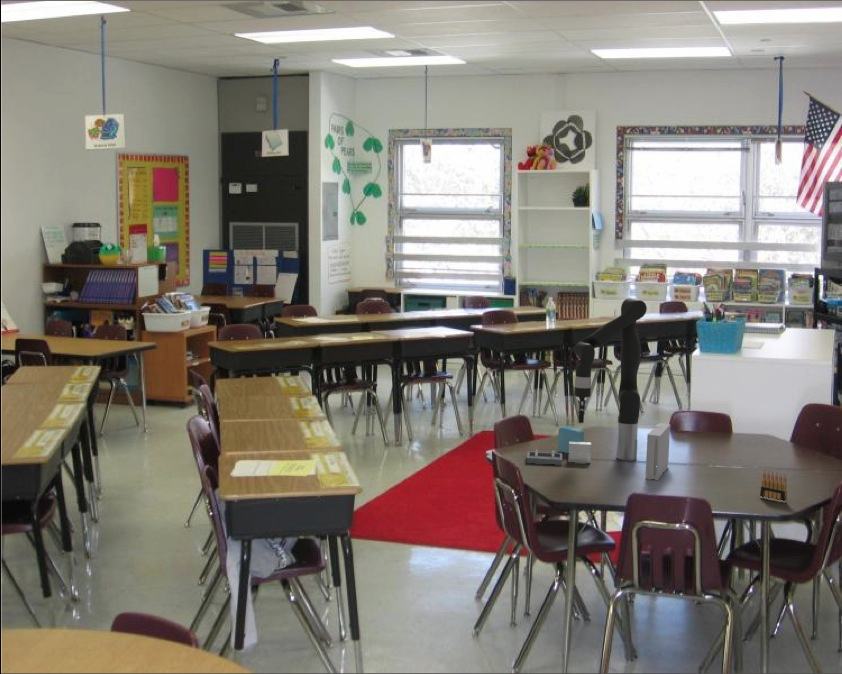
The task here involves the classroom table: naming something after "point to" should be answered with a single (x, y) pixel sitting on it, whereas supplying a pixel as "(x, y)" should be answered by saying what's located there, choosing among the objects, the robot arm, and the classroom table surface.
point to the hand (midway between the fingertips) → (581, 420)
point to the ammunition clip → (773, 486)
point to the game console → (657, 451)
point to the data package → (569, 437)
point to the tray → (544, 458)
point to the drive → (579, 452)
